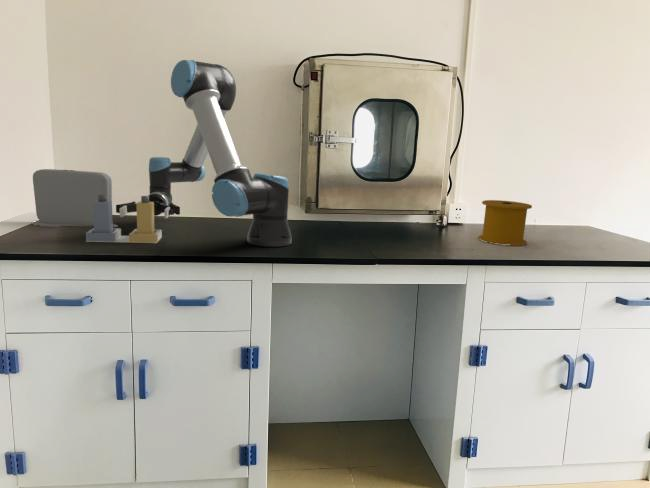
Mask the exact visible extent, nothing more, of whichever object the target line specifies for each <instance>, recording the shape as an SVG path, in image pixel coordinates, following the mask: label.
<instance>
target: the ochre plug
mask: <svg viewBox="0 0 650 488" xmlns="http://www.w3.org/2000/svg"><path fill="white" fill-rule="evenodd" d="M140 197H141V199H140V201H137V202H136V204H137V212H136V229H137V234H155V233H154V229H155V216H154V202H149V196H148V195H141V196H140Z"/></svg>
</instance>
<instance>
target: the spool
mask: <svg viewBox="0 0 650 488" xmlns="http://www.w3.org/2000/svg"><path fill="white" fill-rule="evenodd" d="M481 202H482V203H481V204H482V205H485V209H484V210H485V211H484V217H483V218H484V220H483V226H482V227H483V228H482V234H480V235H478V237H477V239H478V238H479V239H481V240H484V241H487V242H492V243H499V244H510V245H522V244H526V243H527V244H528V242H527V240H525V239H524V236H525V228H526V221H527V215H528V209H529V210H530V209H532V208H533V205H532V204H529V203H525V202H521V201H520V202H519V201H513V200H512V201H511V200H510V201H509V200H502V199H501V200H500V199H497V200H496V199H488V200H487V199H486V200H482V201H481ZM479 239H478V240H479ZM527 244H526V245H527Z"/></svg>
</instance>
